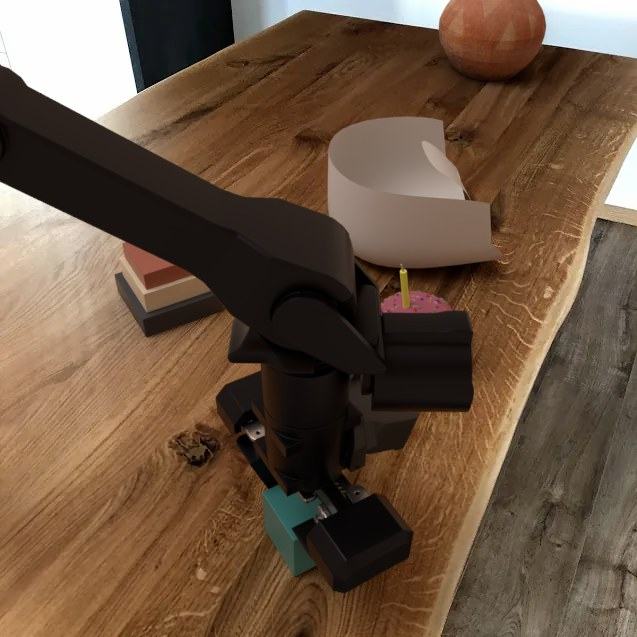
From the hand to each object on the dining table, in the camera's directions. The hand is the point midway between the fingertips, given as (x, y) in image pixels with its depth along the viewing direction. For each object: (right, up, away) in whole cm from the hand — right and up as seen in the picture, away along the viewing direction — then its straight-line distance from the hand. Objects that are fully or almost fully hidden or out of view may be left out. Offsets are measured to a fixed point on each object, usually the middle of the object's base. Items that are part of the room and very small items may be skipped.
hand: (306, 531), depth 58 cm
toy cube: (0, -1, +1) cm, 1 cm away
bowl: (+12, +27, +33) cm, 45 cm away
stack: (-16, +19, +23) cm, 34 cm away
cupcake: (+11, +13, +17) cm, 24 cm away
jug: (+31, +63, +75) cm, 103 cm away
